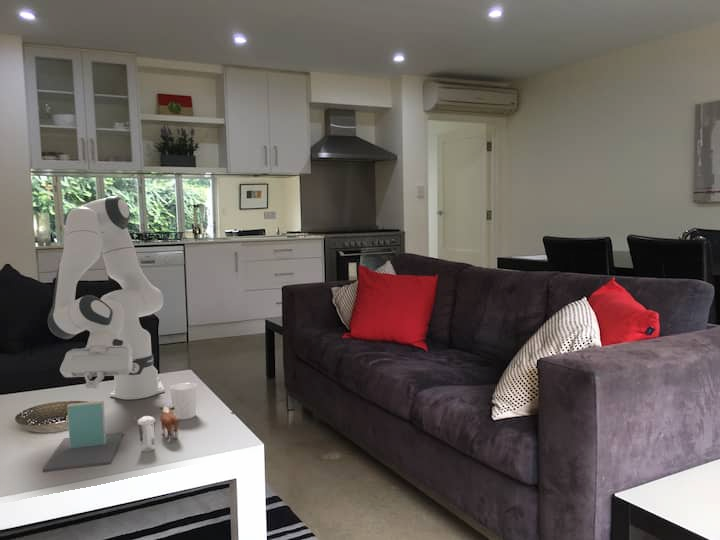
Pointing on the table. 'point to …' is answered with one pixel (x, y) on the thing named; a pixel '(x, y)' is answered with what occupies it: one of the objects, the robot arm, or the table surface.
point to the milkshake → (146, 432)
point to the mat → (83, 454)
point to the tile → (86, 424)
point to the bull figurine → (169, 421)
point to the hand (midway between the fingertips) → (90, 387)
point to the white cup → (184, 400)
